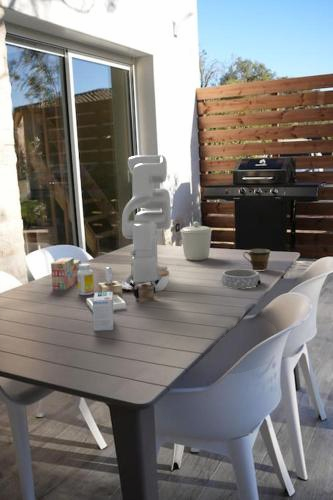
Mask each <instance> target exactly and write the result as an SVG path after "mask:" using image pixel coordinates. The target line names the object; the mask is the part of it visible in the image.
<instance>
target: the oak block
mask: <svg viewBox="0 0 333 500" xmlns="http://www.w3.org/2000/svg"><path fill="white" fill-rule="evenodd" d="M112 281H113V285H110V286H107V285H106V281H104V282H98V284H97V285H98V292H113V295H118V296H119V297H120V298H121V299H122V300H124V299H123V298H124V296H123V285H122V284H121V282H119V281H117V280H112Z"/></svg>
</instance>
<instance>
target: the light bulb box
mask: <svg viewBox="0 0 333 500" xmlns="http://www.w3.org/2000/svg"><path fill="white" fill-rule="evenodd" d="M92 298H93V312H92V315H93V331H94V332H95V331H113V330H114V322H115V321H114V320H115V318H114V317H115V316H114V310H113V292H99V291H98V292H94V293H93V297H92Z"/></svg>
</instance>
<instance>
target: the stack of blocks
mask: <svg viewBox="0 0 333 500" xmlns="http://www.w3.org/2000/svg"><path fill="white" fill-rule="evenodd" d="M80 264H82V263H81V260H80V259H74V257H60V258H58V259H56V260H55V261H53V262H51V263H50V268H51V270H50V271H51V272H50V273H51V281H52V282H51V283H52V290H68V288H70V287H72V286H73V285H74V284H76V283H78V277H77V272H78V271H79V270H80V268H79V265H80Z"/></svg>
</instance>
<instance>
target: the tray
mask: <svg viewBox="0 0 333 500" xmlns="http://www.w3.org/2000/svg"><path fill="white" fill-rule="evenodd" d="M93 298H94V297H88V298H86V299H85V300H86V305H87V307H88V308H89V309H90V310H91V311H92V313H93ZM125 309H127V304H126V301H124V299H121V298H120V297H119V296H118V295H113V311H121V310H125Z"/></svg>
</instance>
